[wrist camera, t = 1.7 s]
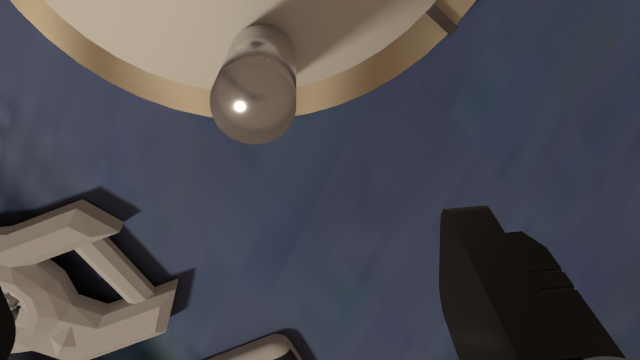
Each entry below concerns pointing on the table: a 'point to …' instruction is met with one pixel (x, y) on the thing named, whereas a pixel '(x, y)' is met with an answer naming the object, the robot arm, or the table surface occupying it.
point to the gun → (60, 294)
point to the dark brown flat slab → (263, 350)
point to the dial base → (309, 97)
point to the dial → (243, 47)
